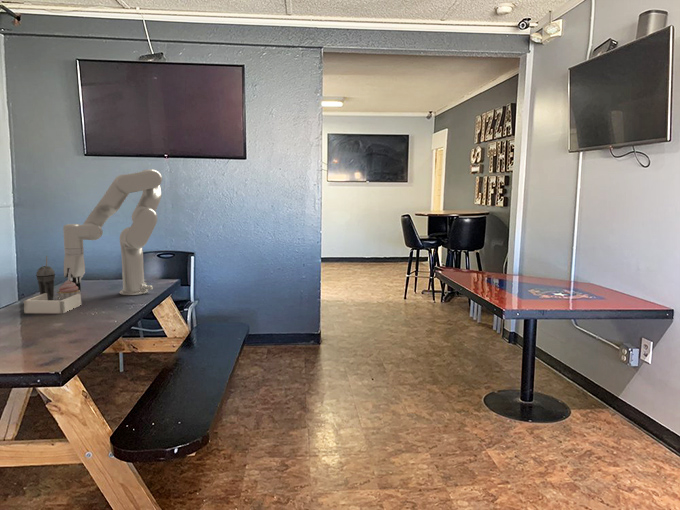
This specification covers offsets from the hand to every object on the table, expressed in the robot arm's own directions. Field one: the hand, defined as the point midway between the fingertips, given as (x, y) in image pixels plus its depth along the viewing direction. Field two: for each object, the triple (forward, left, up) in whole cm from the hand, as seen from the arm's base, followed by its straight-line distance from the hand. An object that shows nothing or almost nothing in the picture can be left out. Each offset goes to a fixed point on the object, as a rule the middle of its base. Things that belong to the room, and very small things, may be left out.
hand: (76, 291), depth 221 cm
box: (0, +18, -3) cm, 18 cm away
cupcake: (0, +6, -3) cm, 7 cm away
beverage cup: (+11, +4, -3) cm, 12 cm away
